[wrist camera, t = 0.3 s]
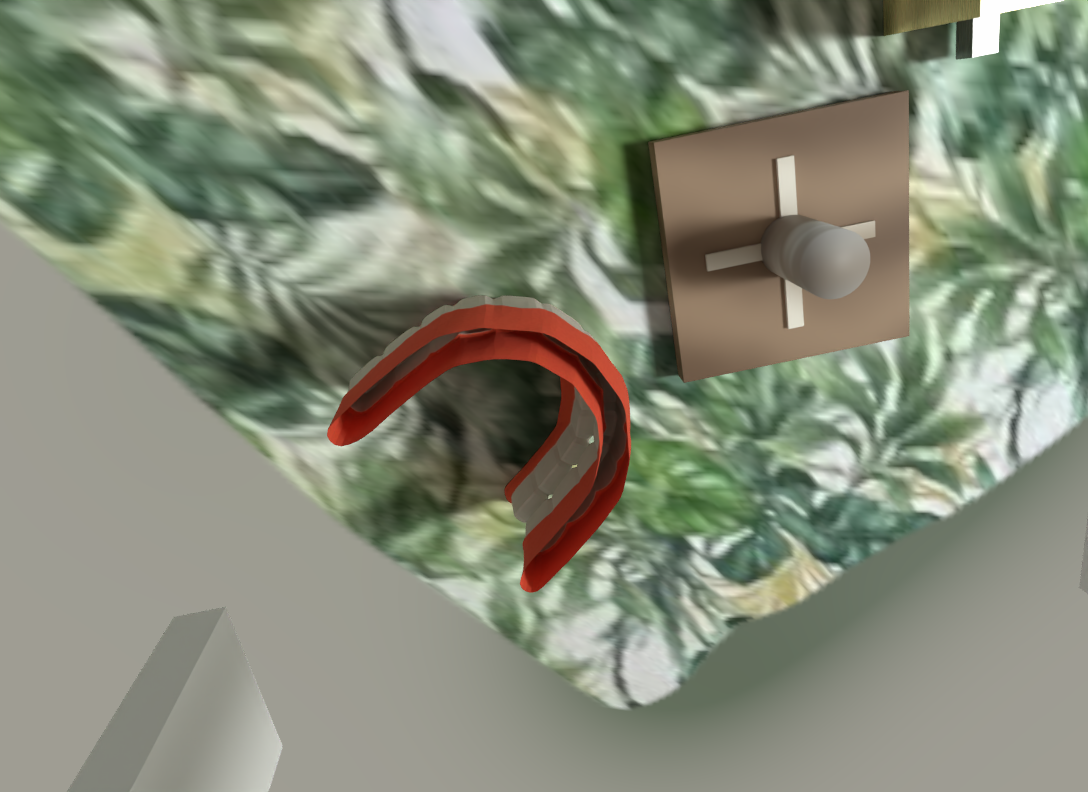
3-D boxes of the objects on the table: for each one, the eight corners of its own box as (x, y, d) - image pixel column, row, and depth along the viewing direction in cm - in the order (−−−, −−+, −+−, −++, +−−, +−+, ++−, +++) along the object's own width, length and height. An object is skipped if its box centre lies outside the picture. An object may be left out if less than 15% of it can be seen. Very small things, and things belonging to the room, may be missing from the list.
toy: (658, 385, 39) (700, 448, 32) (525, 511, 41) (535, 598, 34) (487, 220, 35) (490, 248, 28) (349, 369, 38) (317, 431, 30)
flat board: (648, 142, 35) (682, 147, 29) (894, 91, 35) (977, 86, 29) (678, 375, 39) (712, 420, 33) (896, 329, 39) (969, 366, 33)
